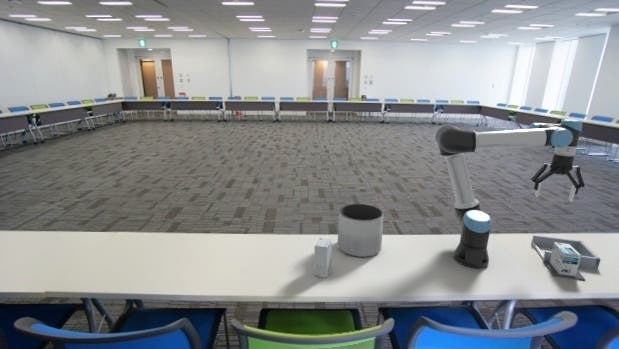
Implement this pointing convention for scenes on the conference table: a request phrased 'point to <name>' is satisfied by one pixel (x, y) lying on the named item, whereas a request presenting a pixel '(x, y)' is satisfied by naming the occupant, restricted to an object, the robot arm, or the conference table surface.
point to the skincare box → (323, 257)
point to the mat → (555, 273)
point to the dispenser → (588, 255)
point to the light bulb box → (565, 259)
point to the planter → (360, 230)
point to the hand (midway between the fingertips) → (553, 198)
